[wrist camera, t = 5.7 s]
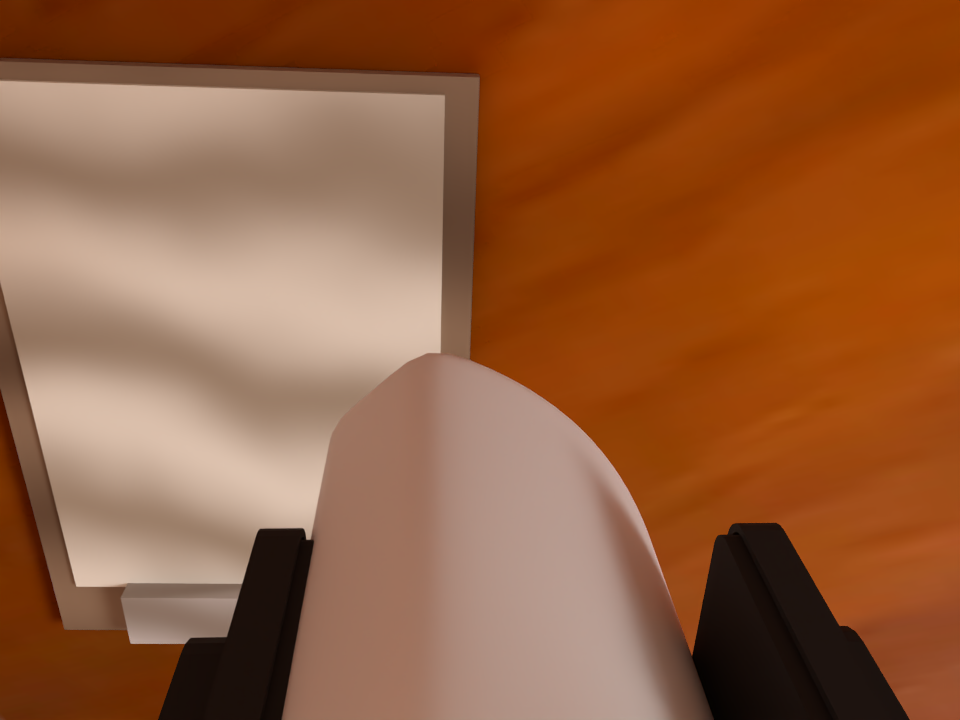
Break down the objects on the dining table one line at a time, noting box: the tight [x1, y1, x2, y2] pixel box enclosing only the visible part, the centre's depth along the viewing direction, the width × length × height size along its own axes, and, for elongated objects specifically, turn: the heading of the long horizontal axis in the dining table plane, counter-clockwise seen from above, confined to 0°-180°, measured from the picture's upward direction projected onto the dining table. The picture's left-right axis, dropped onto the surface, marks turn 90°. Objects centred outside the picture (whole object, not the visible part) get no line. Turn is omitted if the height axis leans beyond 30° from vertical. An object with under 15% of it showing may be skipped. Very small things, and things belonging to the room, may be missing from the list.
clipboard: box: [0, 58, 480, 644], centre depth 29 cm, size 22×16×2 cm
